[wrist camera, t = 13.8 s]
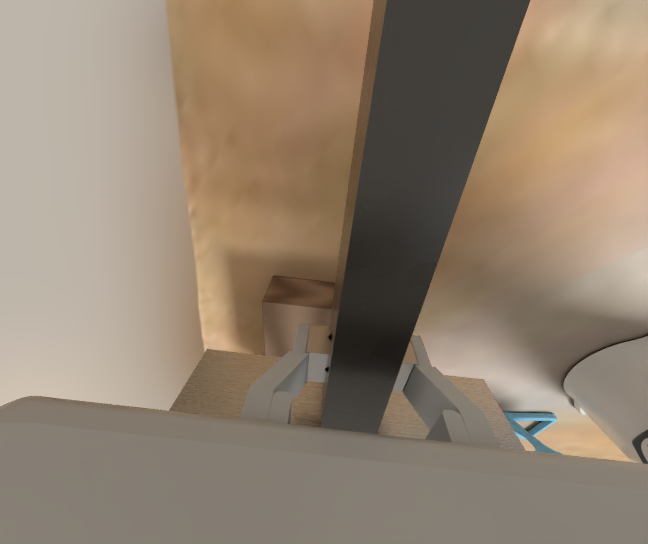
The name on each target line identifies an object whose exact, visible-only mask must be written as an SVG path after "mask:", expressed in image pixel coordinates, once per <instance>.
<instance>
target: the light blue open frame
mask: <svg viewBox="0 0 648 544" xmlns="http://www.w3.org/2000/svg"><path fill="white" fill-rule="evenodd" d="M503 413H504V415H505V417H506V418H507V420H508V422H509V423H510V425H511V427H512V428H513V430H514V432H515V434H516V435H517V437H519V438H522V439H524V440H528V441H529V442H530V443H531V444H532V445H533V446H534V447H535V449H536V450H535V451H534V452H543V453H552V454H561V453H558V452H556V451H554V450H552V449H550V448H548V447H547V446H545V445H544V444H542V443H541V442H540V441H539V440H537V439H536V438H535V437H534V436H535V435H537V434H538V433H540V432H541V431H543V430H544V429H545V428H547V427H548V426H550V425H551V424H553V423H554V422H555V421H557V420H558V419H557V417H556V416H555V415H554V414H552V413H511V412H503ZM515 421H542V422H540V423H539V424H537V425H536V426H535V427H533V428H532V429H531V430H529V431H528V432H527V431H526V430H525V429H524V428H523V427H521V426H520V425H519V424H518V423H517V422H515ZM561 455H563V454H561Z"/></svg>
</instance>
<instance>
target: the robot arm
mask: <svg viewBox="0 0 648 544" xmlns="http://www.w3.org/2000/svg"><path fill="white" fill-rule="evenodd" d="M331 331H332V327H329V326H322V325H314V324H305V323H299V324H298V328H297V332H296V337H295V342H294V347H293V351H289V352H288V353H286V354H285V355H284V356H283V357H282V358H281V359H280V360H279V361H278V362H276V363H275V364H274V365H273V366H272V367H271V368H270V369H269V370H268V371H267V372H265V373H264V374H263V375H262V376H261V377H260V378H259V379H258V380H257V381H255V382H254V383H253V384H252V385H251V386H250V388H249V391H248V394H247V396H246V399H245V402H244V405H243V408H242V411H241V414H240V417H239V419H237V418H228V417H219V416H210V415H201V414H193V413H184V412H175V411H166V410H156V409H148V408H139V407H130V406H120V405H112V404H103V403H94V402H85V401H76V400H67V399H59V398H51V397H42V396H28V397H23V398H20V399H17V400H15V401H12V402H10V403H7V404H5V405H3V406H0V544H648V336H646V337H643V338H640V339H636V340H632V341H628V342H624V343H620V344H617V345H614V346H611V347H608V348H605V349H603V350H601V351H598V352H596V353H594V354H592V355H591V356H589V357H587V358H586V359H584V360H582V361H581V362H580V363H578V364H577V365H576V366H575V367H574V368H573V369H572V370H571V371H570V372H569V373H568V375H567V376H566V378H565V380H564V390H565V392H566V393H567V394H568V395H569V396H570V397H571V398H572V399H573V400H574V407H575V408H576V409H577V410H578V411H579V413H581V414H583V415H588V416H589V417H590V418H591V419H592V420H593V422H594V423H595V424H596V425H597V426H598V427H599V428H600V429H601V430H602V431H603V432H604V433H605V434H606V435H607V436H608V437H609V439H610V440H611V441H612V442H613V443H614V444H615V445H616V446H617V447H618V448H619V449H620V450H621V451H622V452H623V453H624V454H625V455H626V456H627V457H628V458H629V459H630V460H631V461H633V462H635V463H633V462H624V461H615V460H606V459H597V458H588V457H579V456H570V455H561V454H552V453H543V452H534V451H525V450H516V449H507V448H500V446H499V444H498V442H497V440H496V437H495V435H494V433H493V431H492V429H491V427H490V425H489V423H488V421H487V419H486V416H485V414H484V413H483V412H482V411H481V410H480V409H479V408H478V407H477V406H476V405H475V404H474V403H473V402H472V401H471V400H470V399H469V398H467V397H466V396H465V395H464V394H463V393H462V392H461V391H460V390H459V389H458V388H457V387H456V386H455V385H454V384H453V383H452V382H450V381H449V380H448V379H447V378H446V377H445V376H444V375H443V374H442V373H441V372H440V371H439V370H438V369H437V368H436V367H432V366H431V363H430V361H429V358H428V355H427V352H426V350H425V347H424V344H423V341H422V339H421V337H420V336H414V335H412V336H411V339H410V342H409V345H408V348H407V351H406V353H405V356H404V359H403V362H402V365H401V368H400V370H399V373H398V376H397V379H396V382H395V385H394V387H393V390H394V391H401V392H403V394H404V395H405V397H406V398H407V399H408V401H409V402H410V404H411V405H412V406H413V408H414V409H415V411H416V412H417V413H418V415H419V416H420V417H421V419H422V420H423V422H424V423H425V424H426V426H427V427H428V429H429V430H430V432H429V433H428V435H427V437H426V438H425V439H417V438H408V437H399V436H390V435H381V434H372V433H363V432H354V431H345V430H336V429H327V428H318V427H309V426H300V425H291V406H292V401H293V399H294V398H295V397H296V395H297V394H298V393H299V392H300V390H301V389H302V388H303V387H304V385H305V384H306V383H307V381H312V382H324V383H326V380H327V373H328V366H329V361H330V353H331V341H330V340H331Z"/></svg>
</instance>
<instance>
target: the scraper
mask: <svg viewBox="0 0 648 544" xmlns="http://www.w3.org/2000/svg"><path fill="white" fill-rule="evenodd" d="M529 2H530V0H374V3H373V11H372V18H371V25H370V32H369V40H368V47H367V54H366V62H365V69H364V76H363V84H362V91H361V98H360V106H359V113H358V120H357V128H356V135H355V142H354V150H353V157H352V164H351V172H350V179H349V186H348V193H347V201H346V208H345V215H344V223H343V230H342V237H341V245H340V252H339V259H338V267H337V274H336V281H335V289H334V296H333V303H332V311H331V318H330V325H329V327H332V331H331V340H330V341H331V353H330V361H329V366H328V373H327V380H326V383H324V382H312V381H307V383H306V384H305V385H304V387H303V388H302V389H301V390H300V392H299V393H298V394H297V395H296V397H295V398H294V399H293V401H292V406H291V425H300V426H309V427H318V428H327V429H336V430H345V431H354V432H363V433H372V434H381V435H390V436H399V437H408V438H417V439H425V438H426V437H427V435H428V433H429V432H430V430H429V429H428V427H427V426H426V424H425V423H424V422H423V420H422V419H421V417H420V416H419V415H418V413H417V412H416V411H415V409H414V408H413V406H412V405H411V404H410V402H409V401H408V399H407V398H406V397H405V395H404V394H403V392H401V391H394V390H393V387H394V385H395V382H396V379H397V376H398V373H399V370H400V368H401V365H402V362H403V359H404V356H405V353H406V351H407V348H408V345H409V342H410V339H411V336H412V334H413V331H414V328H415V325H416V322H417V319H418V317H419V314H420V311H421V308H422V305H423V302H424V300H425V297H426V294H427V291H428V288H429V285H430V283H431V280H432V277H433V274H434V271H435V268H436V266H437V263H438V260H439V257H440V254H441V251H442V249H443V246H444V243H445V240H446V237H447V234H448V232H449V229H450V226H451V223H452V220H453V217H454V215H455V212H456V209H457V206H458V203H459V201H460V198H461V195H462V192H463V189H464V186H465V184H466V181H467V178H468V175H469V172H470V169H471V167H472V164H473V161H474V158H475V155H476V152H477V150H478V147H479V144H480V141H481V138H482V135H483V133H484V130H485V127H486V124H487V121H488V118H489V116H490V113H491V110H492V107H493V104H494V101H495V99H496V96H497V93H498V90H499V87H500V84H501V82H502V79H503V76H504V73H505V70H506V67H507V65H508V62H509V59H510V56H511V53H512V50H513V48H514V45H515V42H516V39H517V36H518V33H519V31H520V28H521V25H522V22H523V19H524V16H525V14H526V11H527V8H528V5H529ZM281 358H282V357H274V356H265V355H256V354H247V353H238V352H229V351H220V350H211V349H207V350H206V352H205V353H204V355H203V357H202V358H201V360H200V361H199V363H198V365H197V366H196V368H195V370H194V371H193V373H192V374H191V376H190V378H189V379H188V381H187V382H186V384H185V386H184V387H183V389H182V391H181V392H180V394H179V395H178V397H177V399H176V400H175V402H174V403H173V405H172V407H171V408H170V410H169V411H175V412H184V413H193V414H201V415H210V416H219V417H228V418H237V419H239V417H240V414H241V411H242V408H243V405H244V402H245V399H246V396H247V394H248V391H249V388H250V386H251V385H252V384H253V383H254V382H255V381H257V380H258V379H259V378H260V377H261V376H262V375H263V374H264V373H265V372H267V371H268V370H269V369H270V368H271V367H272V366H273V365H274V364H275V363H276V362H278V361H279V360H280V359H281ZM444 376H445V377H446V378H447V379H448V380H449V381H450V382H452V383H453V384H454V385H455V386H456V387H457V388H458V389H459V390H460V391H461V392H462V393H463V394H464V395H465V396H466V397H467V398H469V399H470V400H471V401H472V402H473V403H474V404H475V405H476V406H477V407H478V408H479V409H480V410H481V411H482V412H483V413H484V414H485V416H486V419H487V421H488V423H489V425H490V427H491V429H492V431H493V433H494V435H495V437H496V440H497V442H498V444H499V446H500V448H507V449H516V450H525V449H524V447H523V445H522V444H521V442H520V440H519V439H518V437H517V435H516V434H515V432H514V430H513V428H512V427H511V425H510V423H509V422H508V420H507V418H506V417H505V415H504V413H503V412H502V410H501V408H500V406H499V405H498V403H497V401H496V400H495V398H494V396H493V395H492V393H491V391H490V389H489V388H488V386H487V384H486V383H485V381H484V379H474V378H465V377H456V376H447V375H444ZM525 451H526V450H525Z"/></svg>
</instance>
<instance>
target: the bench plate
mask: <svg viewBox="0 0 648 544" xmlns="http://www.w3.org/2000/svg"><path fill="white" fill-rule="evenodd" d="M334 289H335V283H332V282H323V281H314V280H305V279H296V278H287V277H278V276H273V278H272V280H271V283H270V285H269V287H268V290H267V292H266V294H265V297H264V299H263V301H262V305H263V324H264V342H265V356H274V357H283V356H284V355H285V354H286V353H288V352H289V351H293V347H294V342H295V337H296V332H297V328H298V324H299V323H305V324H314V325H322V326H329V325H330V318H331V311H332V303H333V296H334Z"/></svg>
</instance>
